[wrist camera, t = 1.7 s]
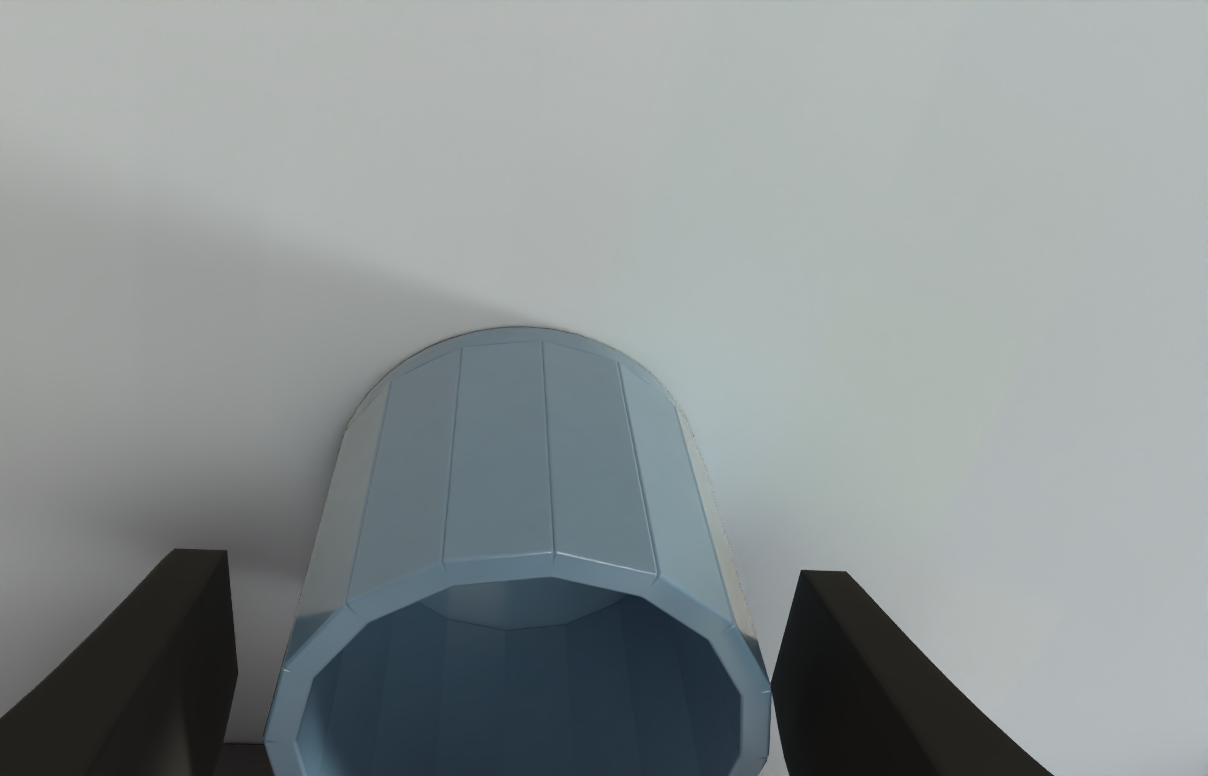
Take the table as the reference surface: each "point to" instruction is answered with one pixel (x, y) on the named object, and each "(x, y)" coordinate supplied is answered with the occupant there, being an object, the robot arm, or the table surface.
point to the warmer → (243, 761)
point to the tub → (520, 581)
